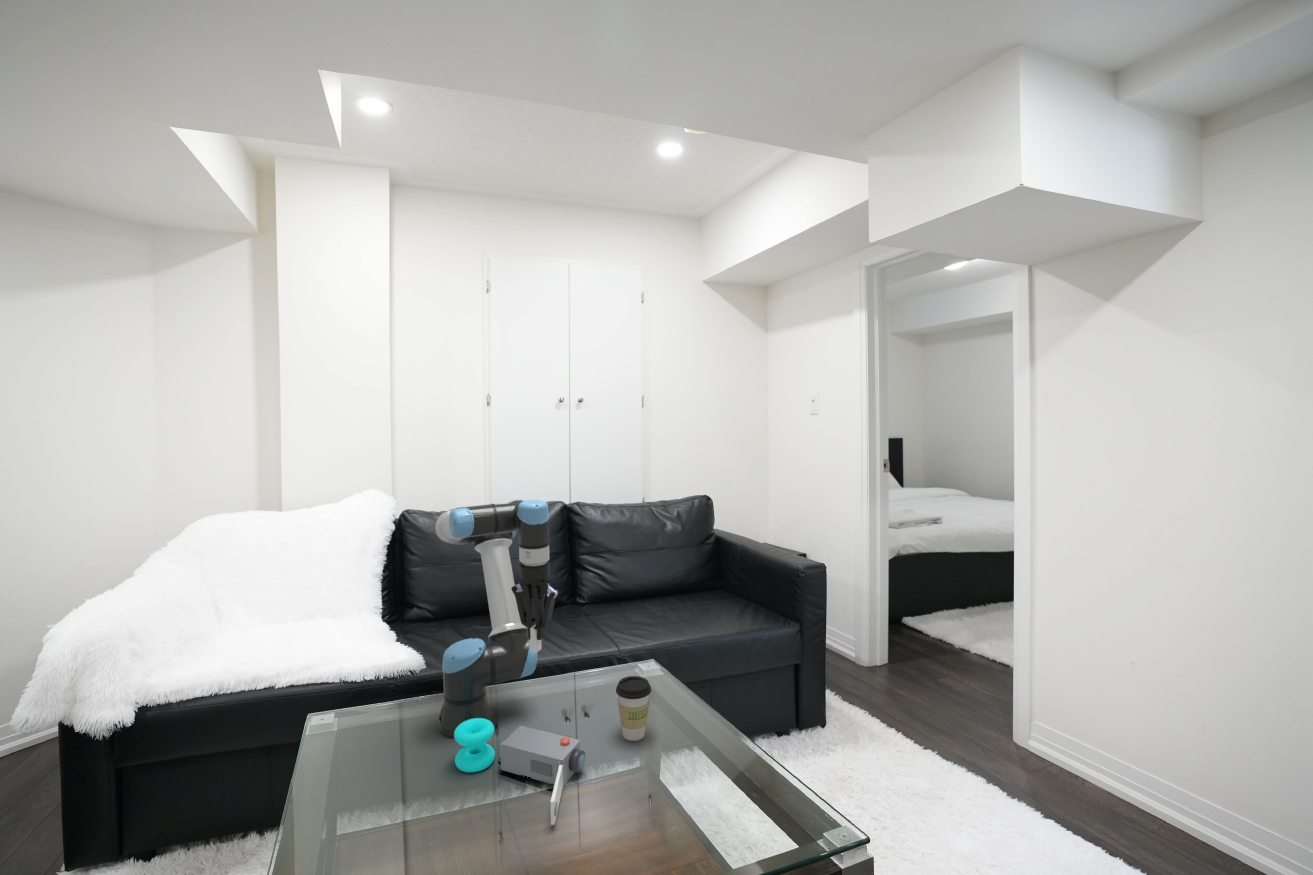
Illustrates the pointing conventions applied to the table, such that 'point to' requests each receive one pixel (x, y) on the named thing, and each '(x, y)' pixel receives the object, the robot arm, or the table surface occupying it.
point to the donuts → (474, 745)
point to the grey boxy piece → (541, 755)
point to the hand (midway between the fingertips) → (536, 650)
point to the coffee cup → (633, 706)
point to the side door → (556, 792)
